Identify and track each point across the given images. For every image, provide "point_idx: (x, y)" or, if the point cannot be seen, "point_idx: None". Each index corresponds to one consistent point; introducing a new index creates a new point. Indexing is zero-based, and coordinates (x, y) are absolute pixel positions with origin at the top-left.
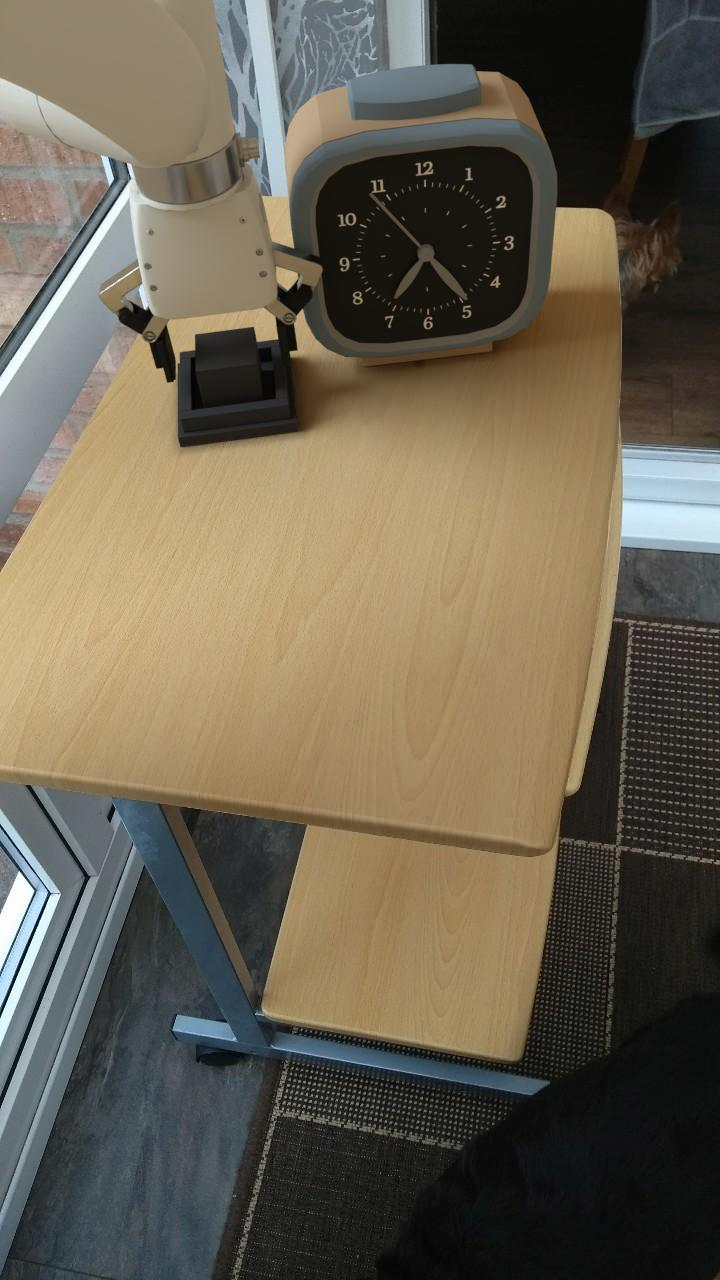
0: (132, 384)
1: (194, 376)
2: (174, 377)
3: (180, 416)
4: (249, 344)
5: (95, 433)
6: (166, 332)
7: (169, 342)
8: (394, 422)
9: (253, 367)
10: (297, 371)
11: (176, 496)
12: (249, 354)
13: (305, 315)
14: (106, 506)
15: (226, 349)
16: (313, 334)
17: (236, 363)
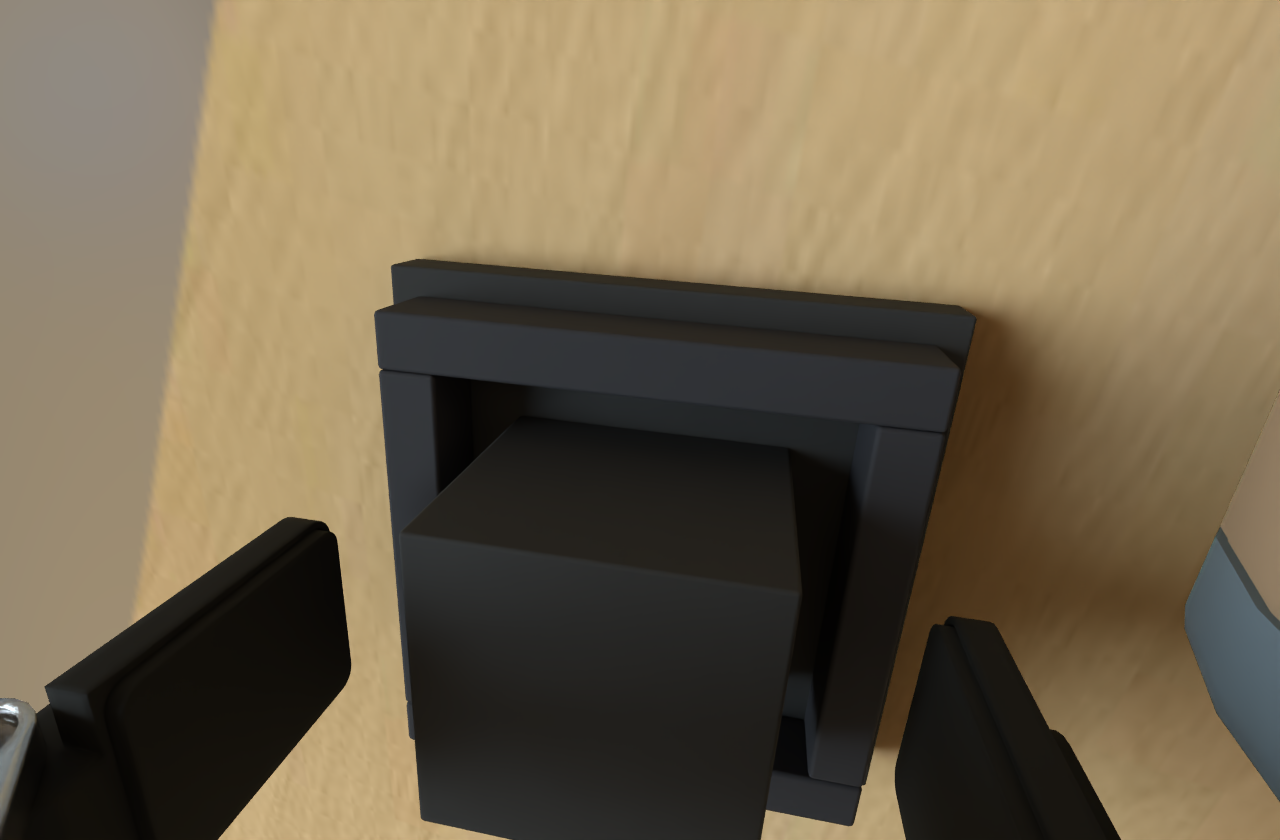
0: (228, 279)
1: (472, 388)
2: (337, 694)
3: (409, 729)
4: (737, 743)
5: (157, 515)
6: (161, 760)
7: (231, 677)
8: (1248, 834)
9: None
10: (961, 417)
11: (439, 836)
12: (722, 817)
13: (1262, 774)
14: (257, 798)
15: (591, 733)
16: (1194, 653)
17: None
